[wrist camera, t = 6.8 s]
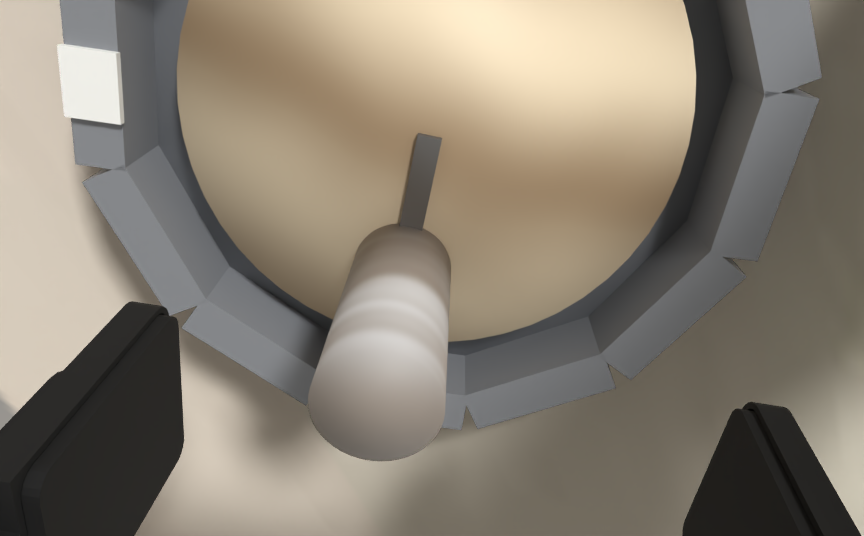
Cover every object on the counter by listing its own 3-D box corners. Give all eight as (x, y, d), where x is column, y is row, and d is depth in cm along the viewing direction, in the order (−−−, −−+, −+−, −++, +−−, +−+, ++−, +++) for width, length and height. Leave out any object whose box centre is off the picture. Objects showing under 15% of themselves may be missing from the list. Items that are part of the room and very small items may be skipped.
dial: (206, -235, 15) (8, -364, 8) (766, -102, 15) (981, -128, 9) (181, 277, 20) (50, 435, 14) (595, 359, 21) (652, 548, 14)
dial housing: (896, -247, 15) (1016, -298, 12) (665, 406, 23) (699, 485, 20) (80, -377, 15) (-30, -466, 12) (129, 331, 23) (71, 399, 19)
